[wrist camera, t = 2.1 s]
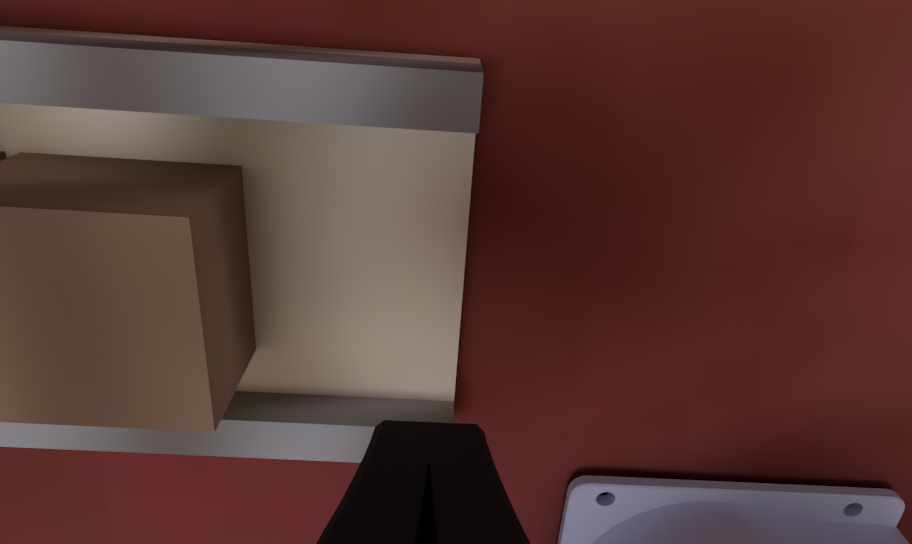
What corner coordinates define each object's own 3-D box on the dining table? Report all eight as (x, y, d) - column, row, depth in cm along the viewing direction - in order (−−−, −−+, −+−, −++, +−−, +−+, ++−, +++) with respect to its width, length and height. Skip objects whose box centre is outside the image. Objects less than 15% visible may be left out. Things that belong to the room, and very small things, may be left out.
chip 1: (241, 165, 13) (188, 217, 11) (256, 349, 15) (214, 432, 13) (20, 152, 13) (-90, 201, 11) (63, 339, 15) (-21, 421, 12)
